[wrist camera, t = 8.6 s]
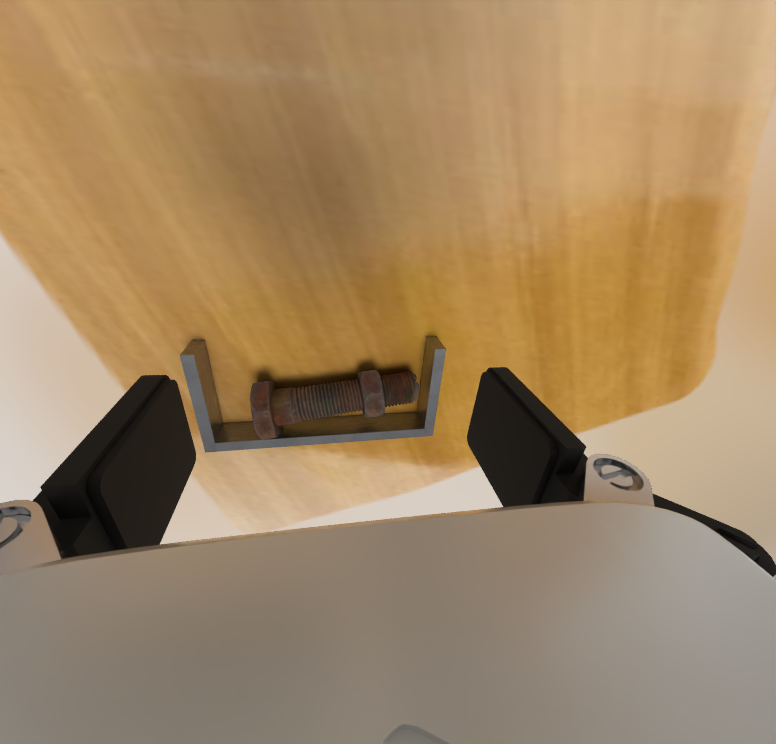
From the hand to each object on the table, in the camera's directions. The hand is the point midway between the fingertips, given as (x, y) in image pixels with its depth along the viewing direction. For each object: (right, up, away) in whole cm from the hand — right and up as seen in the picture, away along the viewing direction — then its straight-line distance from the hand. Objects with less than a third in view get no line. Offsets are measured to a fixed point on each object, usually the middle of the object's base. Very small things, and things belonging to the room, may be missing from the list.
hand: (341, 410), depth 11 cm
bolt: (-4, 0, +24) cm, 24 cm away
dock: (-5, 0, +23) cm, 23 cm away
